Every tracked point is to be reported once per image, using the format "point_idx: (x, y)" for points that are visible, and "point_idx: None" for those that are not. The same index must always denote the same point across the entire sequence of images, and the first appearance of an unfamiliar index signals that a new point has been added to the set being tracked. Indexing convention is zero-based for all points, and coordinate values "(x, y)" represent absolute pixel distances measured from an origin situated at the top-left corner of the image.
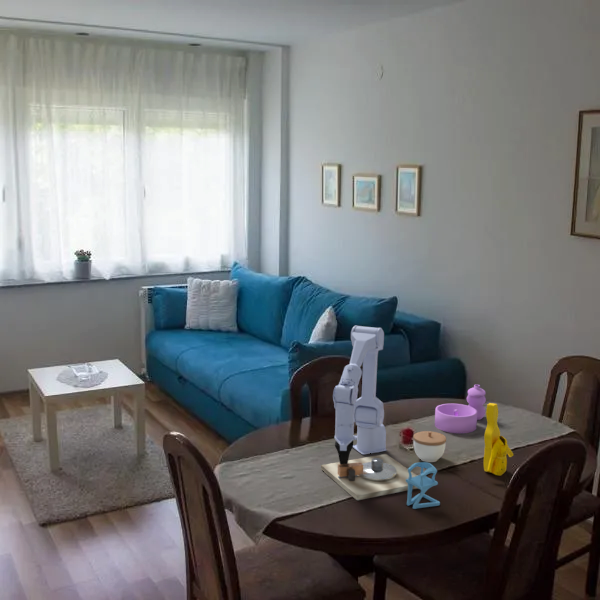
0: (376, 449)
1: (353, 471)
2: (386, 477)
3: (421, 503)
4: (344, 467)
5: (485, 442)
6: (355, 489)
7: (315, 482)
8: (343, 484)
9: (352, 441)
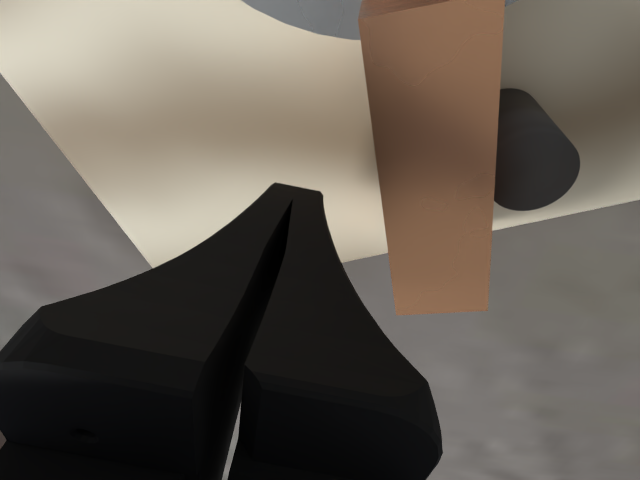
0: None
1: (572, 162)
2: None
3: None
4: (489, 268)
5: None
6: None
7: (392, 328)
8: (571, 211)
9: (98, 391)
